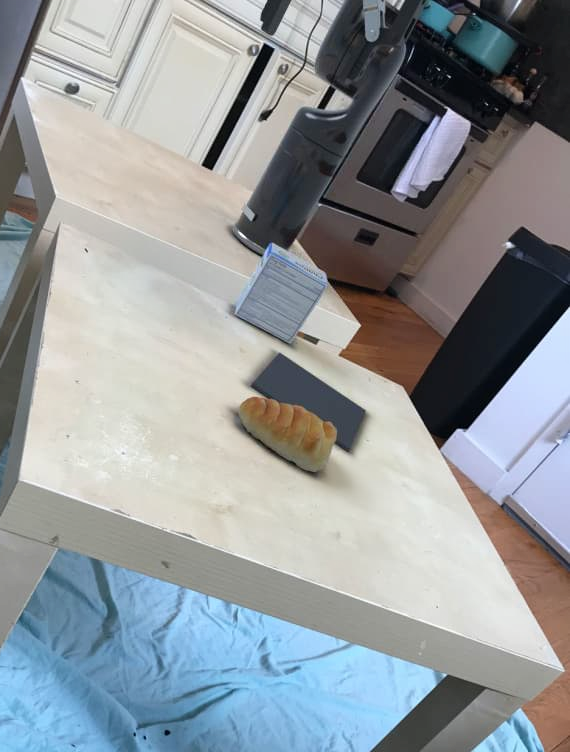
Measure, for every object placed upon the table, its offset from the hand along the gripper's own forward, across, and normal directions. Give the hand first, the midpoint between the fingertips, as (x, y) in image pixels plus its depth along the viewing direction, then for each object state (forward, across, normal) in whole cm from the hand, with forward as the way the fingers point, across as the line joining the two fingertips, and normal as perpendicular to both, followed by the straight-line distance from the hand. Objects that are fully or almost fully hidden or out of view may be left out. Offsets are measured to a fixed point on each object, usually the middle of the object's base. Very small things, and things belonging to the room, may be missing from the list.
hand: (304, 57), depth 68 cm
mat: (+27, -18, -1) cm, 33 cm away
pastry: (+27, -19, +12) cm, 35 cm away
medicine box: (+27, -7, -12) cm, 31 cm away
